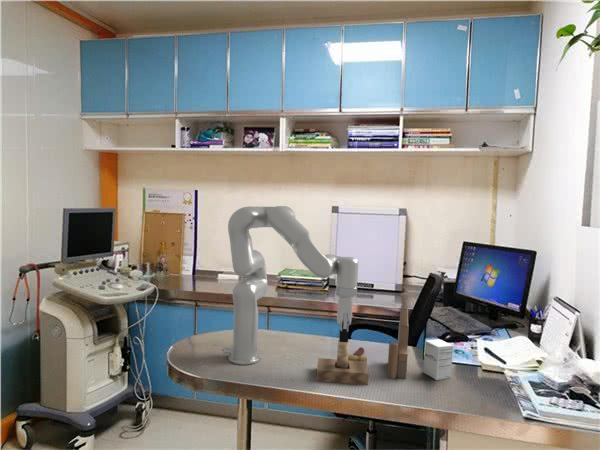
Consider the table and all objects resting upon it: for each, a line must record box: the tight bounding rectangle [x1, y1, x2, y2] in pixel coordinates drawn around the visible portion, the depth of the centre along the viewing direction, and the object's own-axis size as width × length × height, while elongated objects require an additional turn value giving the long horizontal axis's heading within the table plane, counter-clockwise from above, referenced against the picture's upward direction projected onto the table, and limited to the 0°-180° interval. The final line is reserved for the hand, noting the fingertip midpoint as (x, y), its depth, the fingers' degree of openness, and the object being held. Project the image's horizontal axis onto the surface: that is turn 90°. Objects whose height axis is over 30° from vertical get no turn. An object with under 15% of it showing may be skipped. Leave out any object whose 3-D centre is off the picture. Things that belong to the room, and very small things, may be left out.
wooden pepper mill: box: [336, 339, 350, 369], centre depth 151 cm, size 4×4×12 cm
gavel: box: [348, 347, 368, 364], centre depth 170 cm, size 21×5×10 cm
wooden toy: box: [387, 306, 410, 379], centre depth 158 cm, size 16×7×25 cm, turn 169°
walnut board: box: [316, 357, 370, 386], centre depth 152 cm, size 18×11×4 cm, turn 86°
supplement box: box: [423, 338, 454, 381], centre depth 156 cm, size 7×7×13 cm
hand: (343, 341), depth 151 cm, fingers closed
